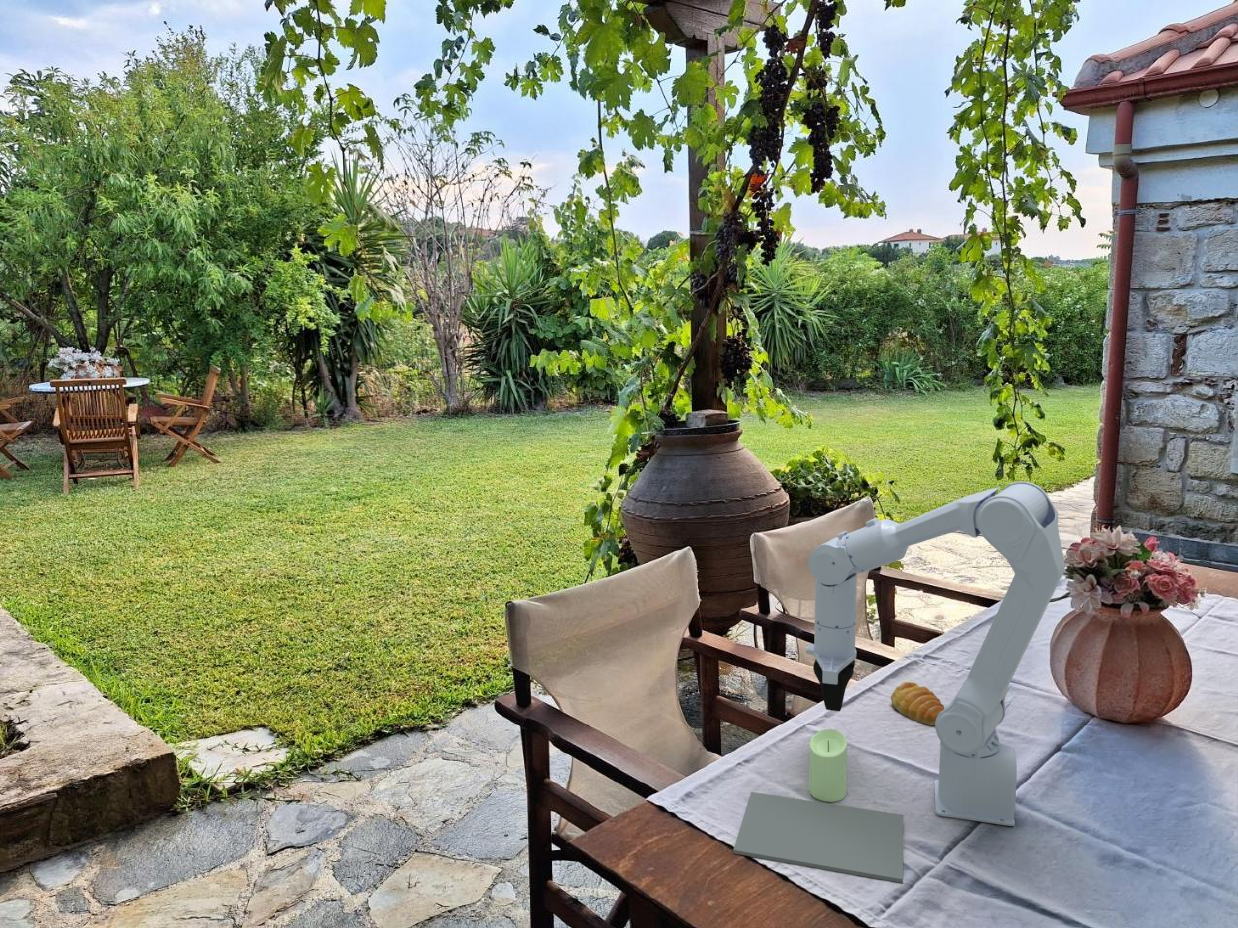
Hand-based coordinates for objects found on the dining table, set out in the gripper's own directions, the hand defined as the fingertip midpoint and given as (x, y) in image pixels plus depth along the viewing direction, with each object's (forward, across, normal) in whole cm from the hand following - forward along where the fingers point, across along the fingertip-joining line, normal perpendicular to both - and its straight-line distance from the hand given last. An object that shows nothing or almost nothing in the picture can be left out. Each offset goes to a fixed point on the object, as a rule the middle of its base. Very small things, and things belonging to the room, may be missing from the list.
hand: (833, 708), depth 125 cm
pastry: (+8, -18, +12) cm, 24 cm away
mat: (+8, +19, 0) cm, 21 cm away
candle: (+8, +9, 0) cm, 12 cm away
